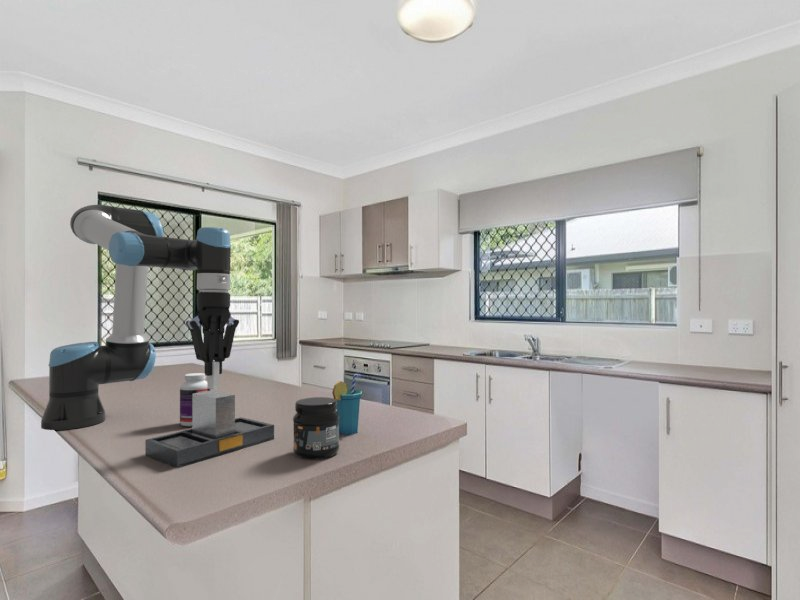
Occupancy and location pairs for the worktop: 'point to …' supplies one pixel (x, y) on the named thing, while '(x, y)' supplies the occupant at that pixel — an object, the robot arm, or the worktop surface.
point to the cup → (347, 406)
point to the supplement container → (316, 428)
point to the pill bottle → (190, 395)
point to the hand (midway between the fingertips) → (213, 388)
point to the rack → (206, 443)
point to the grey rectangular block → (213, 414)
